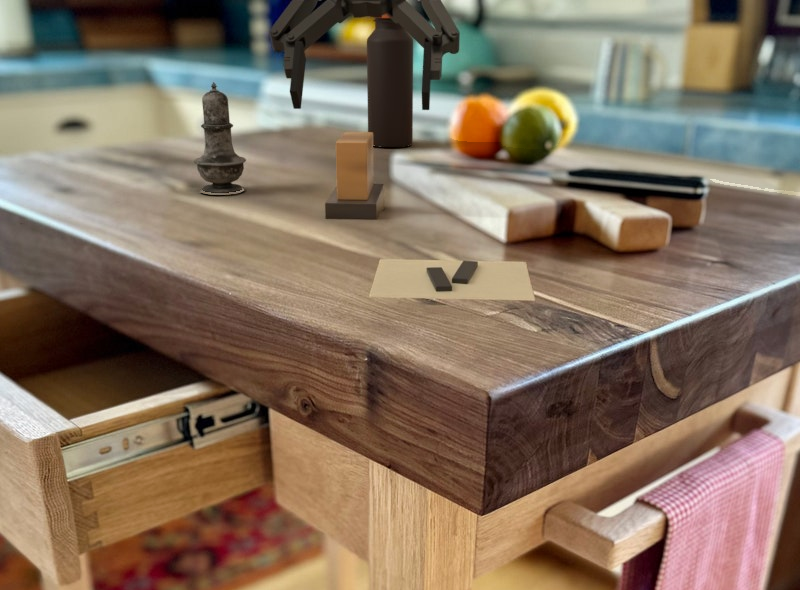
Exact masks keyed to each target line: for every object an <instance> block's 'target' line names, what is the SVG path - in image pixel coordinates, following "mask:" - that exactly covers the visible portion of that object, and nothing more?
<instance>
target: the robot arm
mask: <svg viewBox="0 0 800 590" xmlns="http://www.w3.org/2000/svg"><path fill="white" fill-rule="evenodd" d="M318 1H319V2H320V1H322V0H291V1H290V3H289V4H287V6H286V8H285V9H284V10H283V12H282V13H281V14H280V16H279V17H278V19H277V20H275V23H274V24H272V26H271V28H270V29H269V31H268V34H269V38H270V43H271V46H272V50H273V52H275V53H282V52H283V62H282V66H283V70H284V71H283V72H284V75H285V78H286V79H290V83H289V84H290V85H289V95H290V98H291V103H292V108H293V109H294V110H301V109H302V101H303V91H304V84H305V75H306V74H305V73H306V64H307V63H306V62H307V56H306V52H305V51H306V50H308V49H309V48H310V47H311V46H313V45H314V43H316V42H317V41H318V40H319V39H320V38H322V37H323V36H324V35H325V34H326V33H327V32H328V31H329V30H331V29H332V28H333V27H334V26H335V25H336V24H342V23H343V22H345V20H347V19H348V18H349V17H350V16H353V18H354V19H355V18H358V19H359V18H360V19H361V18H365V17H370V18H373V17H374V18H373V19H375V18H382V15H385V14H386V15H387V16H389V17H390V18H391V19H392V20H393V21H394V22H395V23H396V24H397V23H399V24H400V25H401V26H402V27H403V28H404V29H405V30H406V31H407V33H408V34H409V35H410V36H411V37H412V39H413V40H415V42H417V44H419V46H421V47H422V48H423V55H422V57H423V58H422V76H421V110H422V111H430V107H431V106H430V104H431V83H432V81H440V80H441V78H442V77H443V76H442V72H443V57H444V55H446V54H451V55H456V54H458V53H459V52H460V41H461V39H460V36H461V33H460V30H459V29H458V27H457V25H456V23H455V22H454V20H453V18H452V17H451V15H450V13H449V11H448V10H447V9H446V6H445V5H444V3H443V1H442V0H416V1H417V2H420V3H421V6H422V8H423V10H424V12H425V14H426V16H427V17H428V19H429V21H428V20H427V19H426V18H424V16H423V15H421V14H420V12H419V11H417V10H416V8H415V7H413V6H412V5H411V3H409V2H408V1H407V0H325V1H324V2H322V3H321V4H320V6H318V7H317V8H316V6H317V4H318ZM315 8H316V9H315ZM430 22H431V23H430Z"/></svg>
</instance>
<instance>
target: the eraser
mask: <svg viewBox="0 0 800 590" xmlns="http://www.w3.org/2000/svg"><path fill="white" fill-rule="evenodd" d="M374 166H375V165H374V147H373V132H368V131H364V132H363V131H344V132H343V133H342V134H341V135H340V136H339V138H338V139H337V140H336V142H335V167H336V168H335V169H336V170H335V171H336V174H335V175H336V186H335V187H334V189H333V191H332V192H331V193H330V194H329V196H328V198H327V200H326V201H325V203H324V213H325V214H324V215H325V216H324V217H325V220H359V221H360V220H361V221H363V220H366V221H367V220H368V221H376V220H377V219H378V217H379V215H380V212H384V210H385V204H386V203H385V183H375V176H374V175H375V174H374V173H375V170H374V169H375V168H374Z"/></svg>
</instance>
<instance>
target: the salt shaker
mask: <svg viewBox="0 0 800 590" xmlns="http://www.w3.org/2000/svg"><path fill="white" fill-rule="evenodd" d="M210 87H211V89H210V90H209V91H208V92H205V94H203V96H202V99H201V103H202V115H203V123H202V124H200V127H201V128H202V129H203V132H204V151H203V154H201V156H200V157H197V158H195V159H194V160H193V164H195V165H196V167H197V169H196V170H197V171H198V174H199V175H200V177H201V178H202V179H203V180H204V181H205V182H208V183H211V184H207V185H204V186H203V187H202V188H201V189H202V190H203V191H205V192H211V193H229V192H236V191H240V190H242V187H243V186H242V185H240V184H237V183H234V182H237V181H238V180H239V178H240V177H241V176H242V175H243V172H244V169H245V167H244V165H245V164H244V163H246V161H247V159H246V158H245V157H243V156H240V155H239V154H237V153H236V152H235V149H234V145H233V139H232V138H233V137H232V128H233V127H234V124H232V123H231V122H230V111H229V98H228V96H227V95H226V94H225V93H224V92H222V91H220V90H218V89H217V87H218V85H217V84H216V83H215V82H214V81H213V82H212V83H211V85H210Z"/></svg>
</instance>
